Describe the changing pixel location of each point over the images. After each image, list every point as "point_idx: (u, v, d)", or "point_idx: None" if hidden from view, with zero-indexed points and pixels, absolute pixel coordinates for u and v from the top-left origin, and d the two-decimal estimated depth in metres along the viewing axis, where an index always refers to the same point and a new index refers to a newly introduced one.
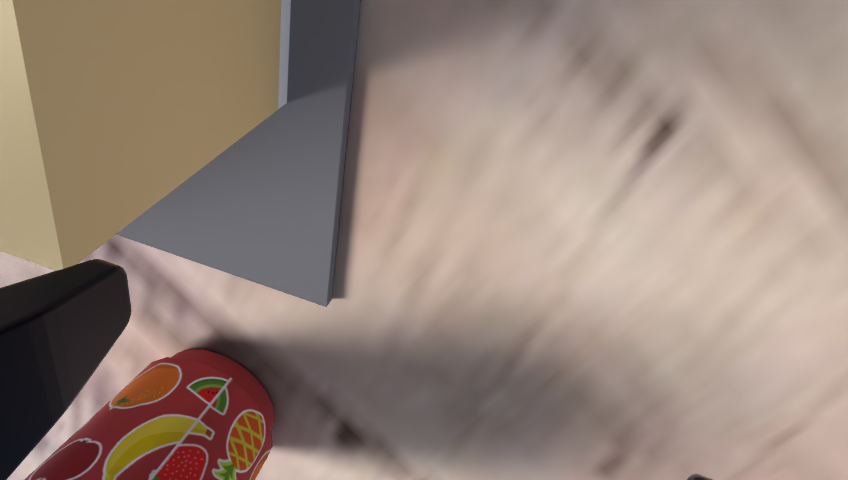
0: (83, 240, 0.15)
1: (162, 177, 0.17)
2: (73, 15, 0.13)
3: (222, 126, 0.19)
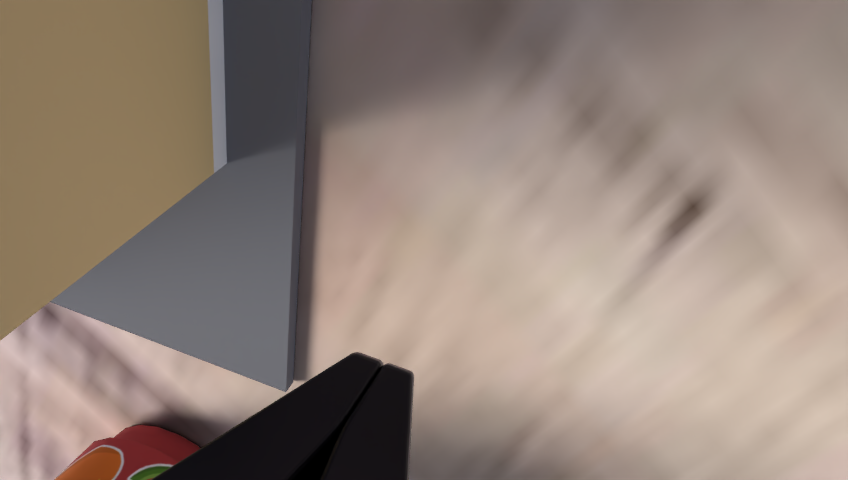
0: None
1: (33, 286, 0.13)
2: None
3: (129, 207, 0.15)
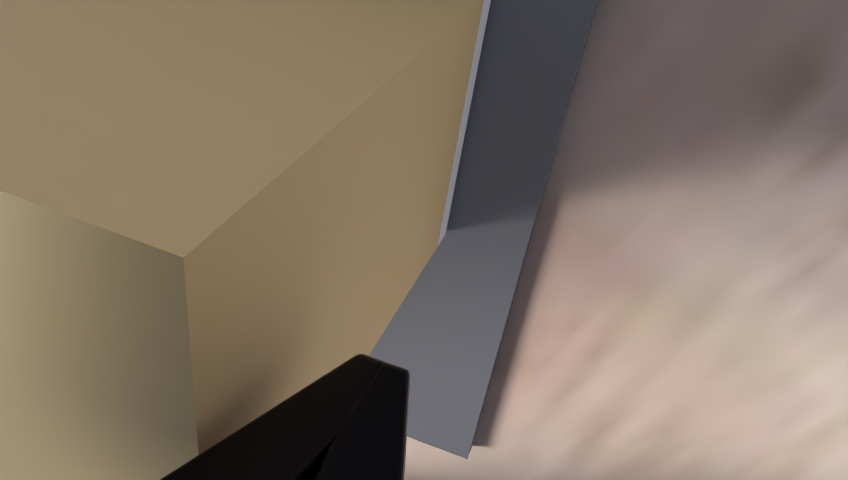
0: None
1: None
2: (260, 255, 0.08)
3: (390, 298, 0.14)
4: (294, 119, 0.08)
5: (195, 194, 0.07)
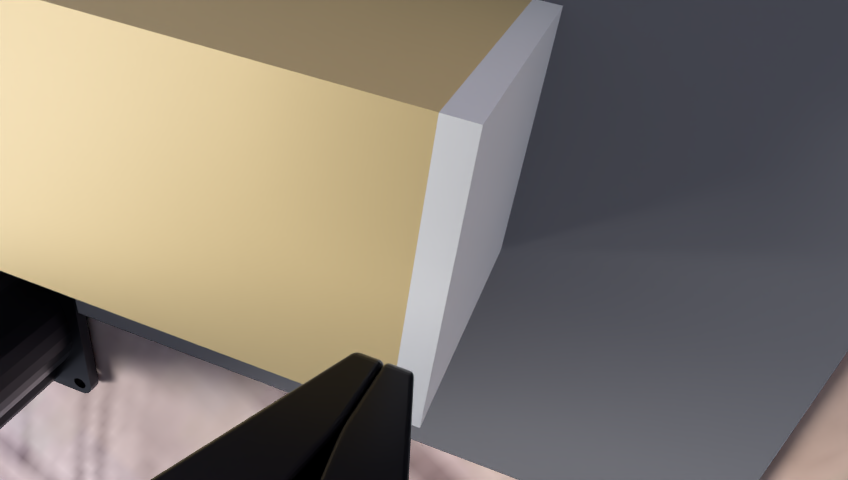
0: None
1: (102, 287, 0.13)
2: None
3: (230, 327, 0.13)
4: None
5: None
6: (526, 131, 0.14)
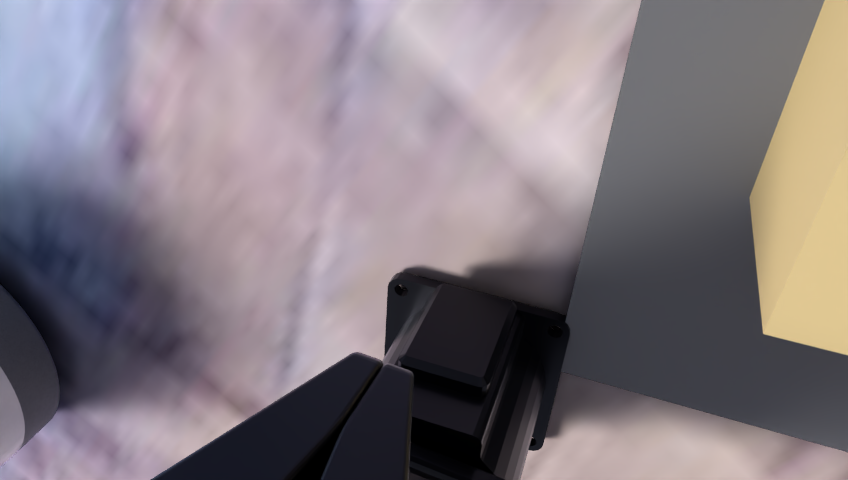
0: (806, 325, 0.14)
1: None
2: None
3: None
4: None
5: None
6: None
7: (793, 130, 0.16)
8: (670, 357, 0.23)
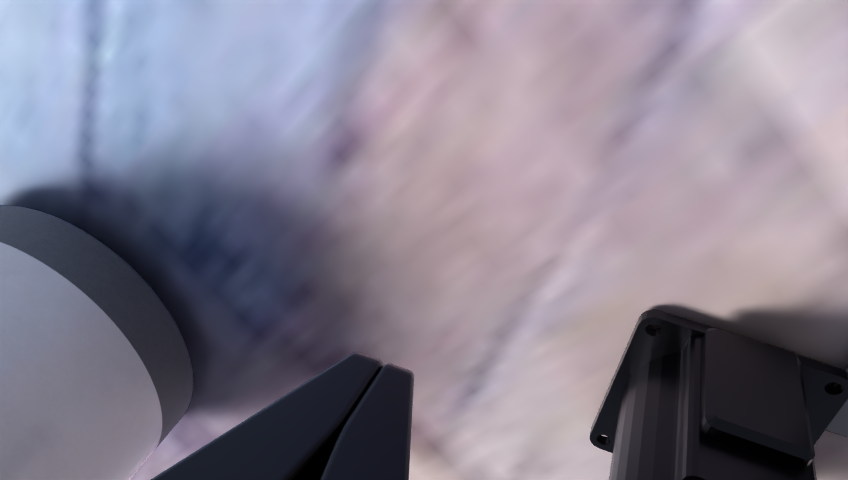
0: None
1: None
2: None
3: None
4: None
5: None
6: None
7: None
8: None
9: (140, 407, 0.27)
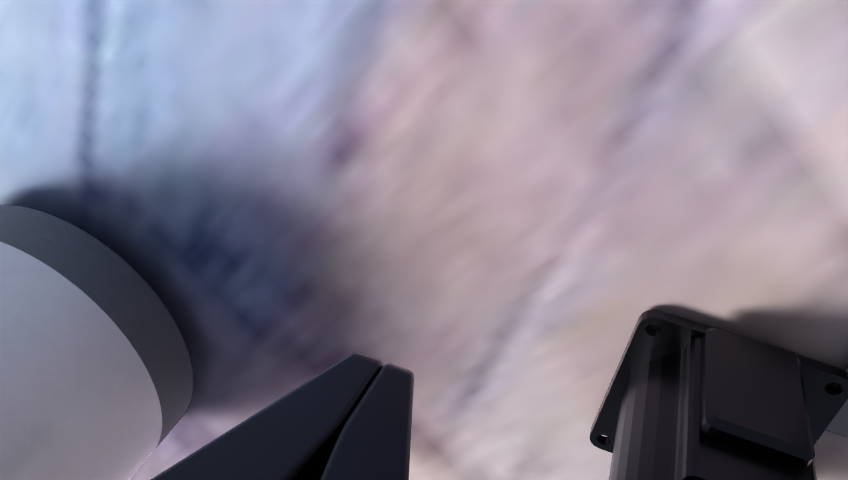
0: None
1: None
2: None
3: None
4: None
5: None
6: None
7: None
8: None
9: (140, 407, 0.27)
